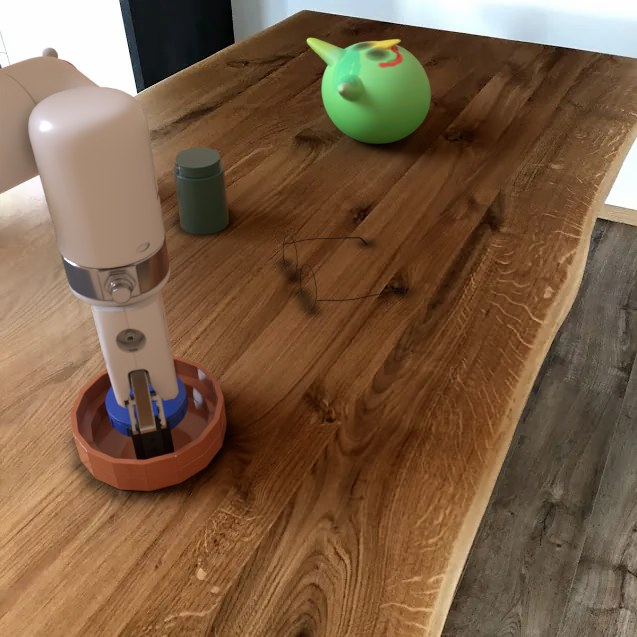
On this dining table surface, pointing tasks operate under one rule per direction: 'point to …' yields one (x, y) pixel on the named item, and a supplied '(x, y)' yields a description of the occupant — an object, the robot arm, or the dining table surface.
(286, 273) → the dining table surface
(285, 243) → the eyeglasses
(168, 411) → the lid
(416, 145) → the dining table surface
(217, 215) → the jar
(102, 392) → the bowl
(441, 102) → the dining table surface
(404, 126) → the toy bird
